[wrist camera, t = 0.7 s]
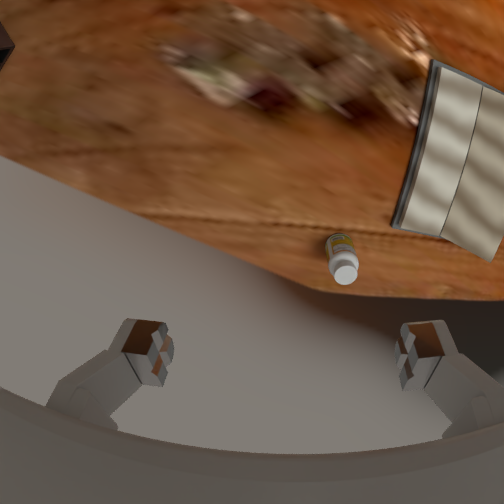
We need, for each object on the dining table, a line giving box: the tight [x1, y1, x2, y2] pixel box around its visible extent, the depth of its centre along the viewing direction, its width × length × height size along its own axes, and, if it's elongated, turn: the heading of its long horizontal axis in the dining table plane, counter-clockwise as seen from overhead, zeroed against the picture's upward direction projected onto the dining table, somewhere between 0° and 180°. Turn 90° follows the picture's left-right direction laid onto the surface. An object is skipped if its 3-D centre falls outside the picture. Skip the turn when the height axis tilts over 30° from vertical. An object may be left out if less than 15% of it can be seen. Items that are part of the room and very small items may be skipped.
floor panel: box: [391, 60, 504, 239], centre depth 45 cm, size 32×25×2 cm
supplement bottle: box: [325, 234, 359, 285], centre depth 54 cm, size 5×5×10 cm
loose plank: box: [440, 86, 504, 263], centre depth 41 cm, size 30×12×2 cm
